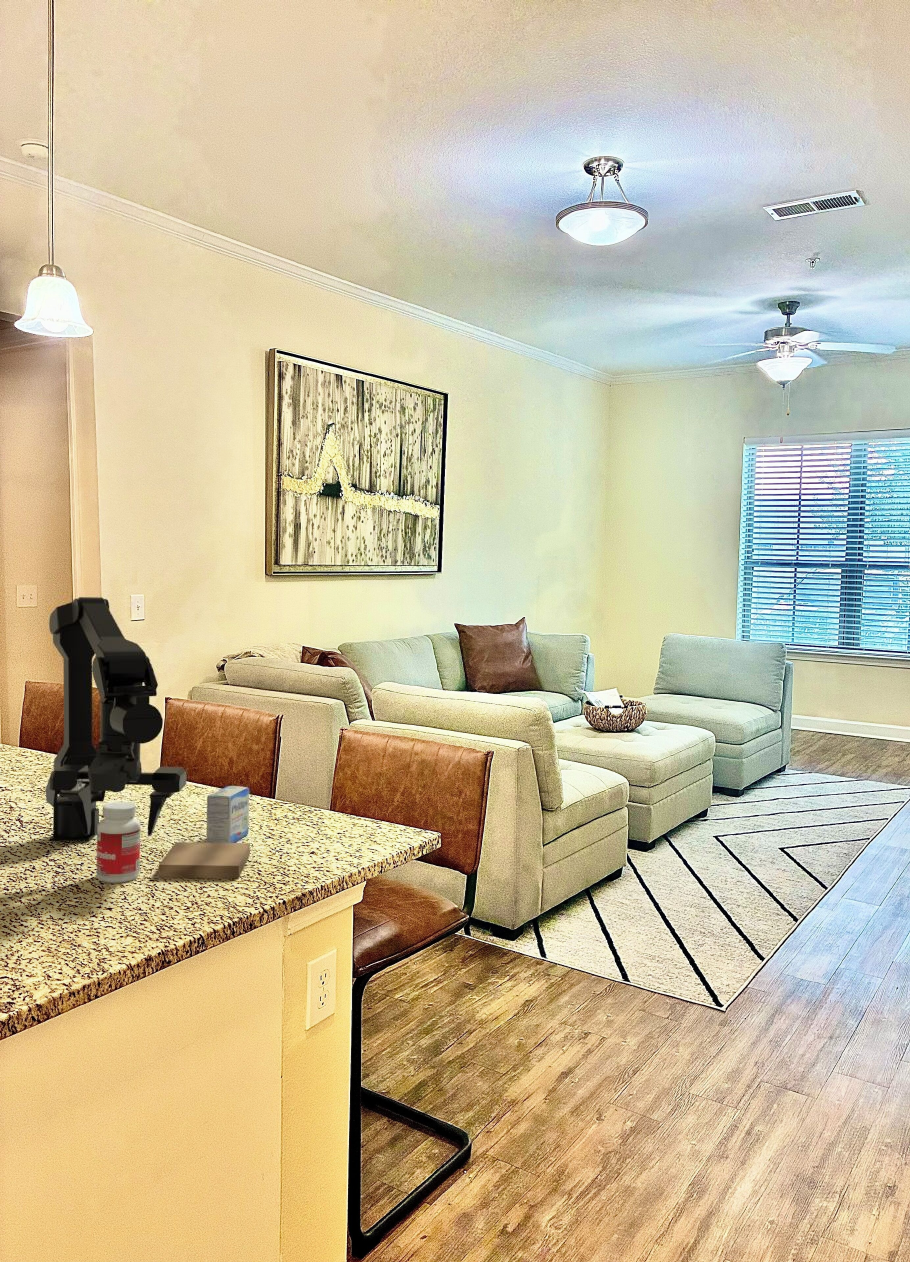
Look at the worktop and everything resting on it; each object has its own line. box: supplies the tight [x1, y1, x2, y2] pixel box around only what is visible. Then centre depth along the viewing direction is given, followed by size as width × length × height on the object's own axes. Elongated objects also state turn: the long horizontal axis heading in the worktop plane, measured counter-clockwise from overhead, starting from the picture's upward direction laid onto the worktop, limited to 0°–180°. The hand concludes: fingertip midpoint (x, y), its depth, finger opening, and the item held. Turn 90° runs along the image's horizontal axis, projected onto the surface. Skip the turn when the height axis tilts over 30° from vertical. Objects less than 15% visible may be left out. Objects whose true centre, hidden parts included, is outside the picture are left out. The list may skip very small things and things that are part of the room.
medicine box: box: [206, 785, 250, 843], centre depth 165 cm, size 8×4×9 cm, turn 168°
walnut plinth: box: [158, 841, 251, 880], centre depth 150 cm, size 12×12×2 cm
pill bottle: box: [96, 801, 141, 884], centre depth 143 cm, size 6×6×11 cm
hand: (118, 834), depth 143 cm, fingers open, 9 cm apart
